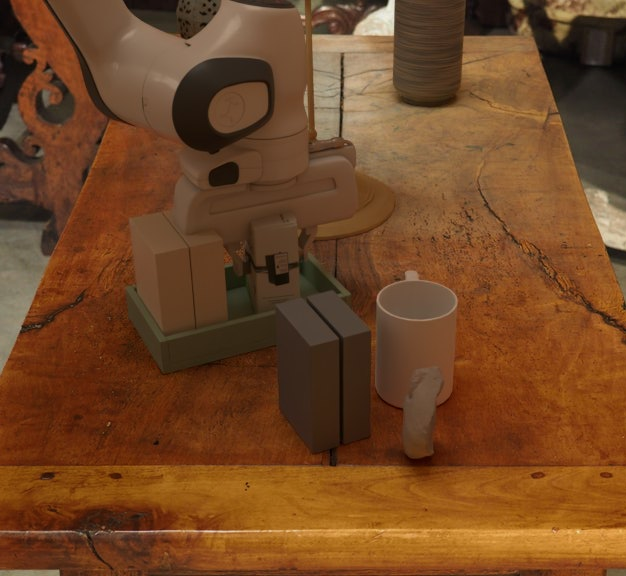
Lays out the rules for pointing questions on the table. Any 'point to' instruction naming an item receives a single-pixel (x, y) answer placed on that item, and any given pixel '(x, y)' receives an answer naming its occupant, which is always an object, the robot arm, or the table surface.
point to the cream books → (178, 273)
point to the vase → (428, 50)
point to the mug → (414, 335)
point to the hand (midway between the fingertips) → (270, 266)
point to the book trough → (230, 336)
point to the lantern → (195, 15)
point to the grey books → (323, 370)
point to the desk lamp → (371, 191)
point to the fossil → (421, 412)
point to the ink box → (273, 261)
